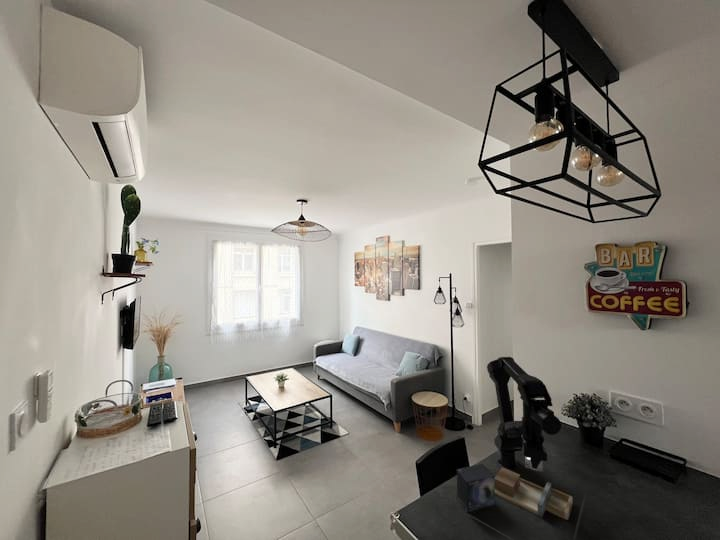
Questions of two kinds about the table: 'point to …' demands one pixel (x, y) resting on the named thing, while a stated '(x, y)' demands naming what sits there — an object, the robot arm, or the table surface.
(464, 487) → the small box
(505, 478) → the slab
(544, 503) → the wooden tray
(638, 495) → the table surface
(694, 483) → the table surface
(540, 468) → the roller
